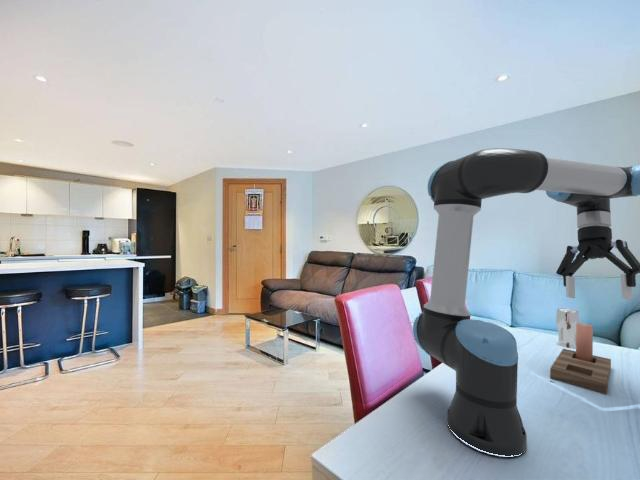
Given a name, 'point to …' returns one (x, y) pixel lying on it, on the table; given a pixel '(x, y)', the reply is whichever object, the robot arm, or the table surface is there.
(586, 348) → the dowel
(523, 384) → the table surface
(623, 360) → the table surface
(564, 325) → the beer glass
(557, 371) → the hole board
